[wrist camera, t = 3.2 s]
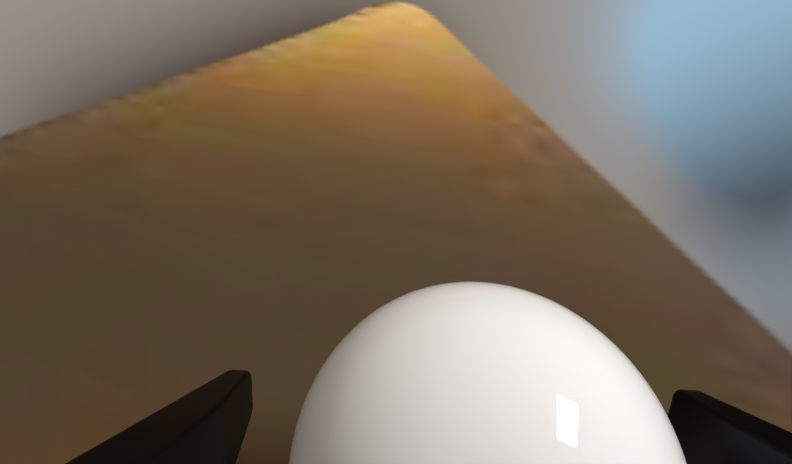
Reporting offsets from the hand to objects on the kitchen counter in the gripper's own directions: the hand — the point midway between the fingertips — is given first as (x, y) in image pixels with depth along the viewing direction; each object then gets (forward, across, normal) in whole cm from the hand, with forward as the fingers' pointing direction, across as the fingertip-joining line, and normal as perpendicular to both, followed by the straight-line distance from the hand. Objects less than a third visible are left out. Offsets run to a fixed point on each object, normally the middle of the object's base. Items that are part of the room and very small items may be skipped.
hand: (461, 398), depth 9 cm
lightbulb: (+4, 0, +6) cm, 7 cm away
